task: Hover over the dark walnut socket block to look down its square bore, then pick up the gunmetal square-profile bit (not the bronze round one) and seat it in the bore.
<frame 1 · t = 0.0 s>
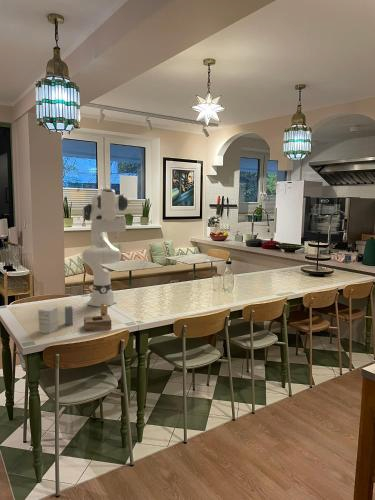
hand: (108, 239, 227), 48 cm above the table, fingers open, 8 cm apart
square bit: (68, 324, 219), on the table
round bit: (104, 321, 226), on the table
supplement box: (48, 331, 208), on the table
socket block: (97, 327, 215), on the table
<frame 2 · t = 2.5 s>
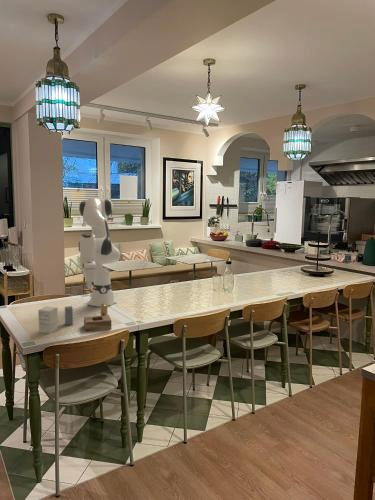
hand: (88, 286, 213), 23 cm above the table, fingers open, 8 cm apart
nothing on the table moved.
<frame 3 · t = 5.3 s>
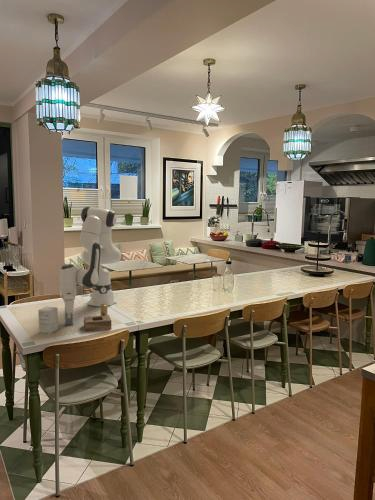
hand: (68, 316, 218), 5 cm above the table, fingers closed on square bit, 4 cm apart
square bit: (68, 324, 219), on the table, touching gripper
everything else where it was.
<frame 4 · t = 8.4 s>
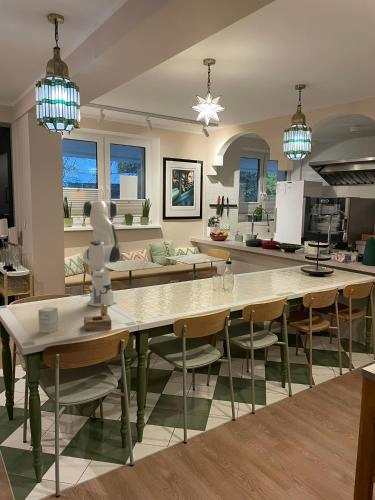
hand: (97, 294, 212), 19 cm above the table, fingers closed on square bit, 4 cm apart
square bit: (97, 302, 213), point 14 cm above the table, touching gripper
everything else where it was.
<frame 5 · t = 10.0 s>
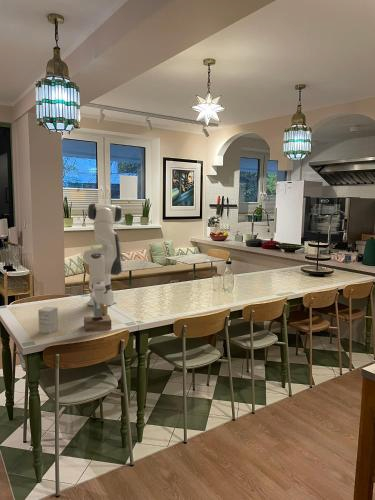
hand: (97, 307, 213), 12 cm above the table, fingers closed on square bit, 4 cm apart
square bit: (97, 315, 214), point 7 cm above the table, touching gripper
everything else where it was.
when the fingers open (7 cm above the table, at t = 11.6 s): square bit stays where it is, resting on socket block.
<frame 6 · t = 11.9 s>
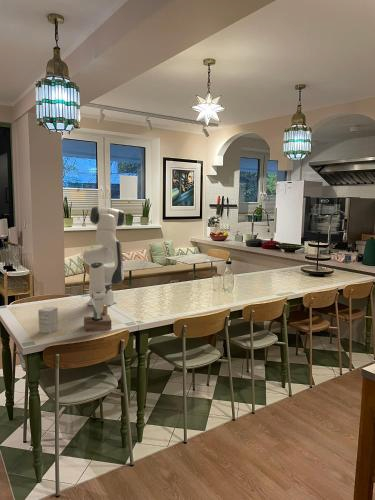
hand: (97, 316, 214), 7 cm above the table, fingers open, 7 cm apart
square bit: (97, 325, 215), point 1 cm above the table, touching socket block
everything else where it was.
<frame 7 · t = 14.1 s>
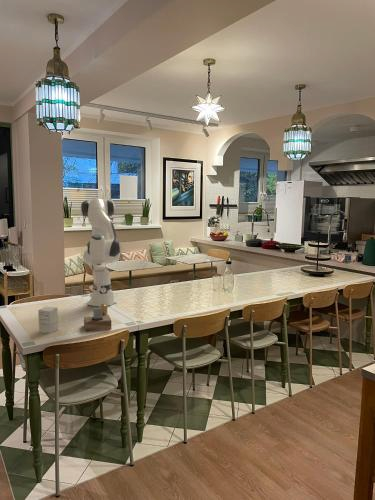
hand: (97, 288, 214), 22 cm above the table, fingers open, 8 cm apart
nothing on the table moved.
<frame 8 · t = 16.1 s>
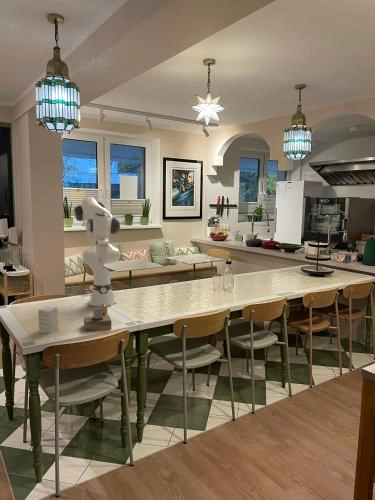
hand: (101, 264, 223), 34 cm above the table, fingers open, 8 cm apart
nothing on the table moved.
at the end: square bit 0.1 cm off-centre on the socket block, point 1.0 cm above the socket block's base; square bit tilted 0°; the gripper is holding nothing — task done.
